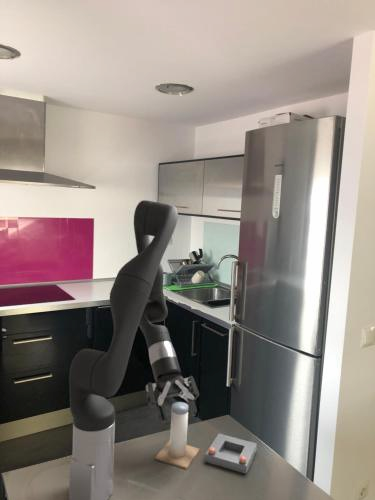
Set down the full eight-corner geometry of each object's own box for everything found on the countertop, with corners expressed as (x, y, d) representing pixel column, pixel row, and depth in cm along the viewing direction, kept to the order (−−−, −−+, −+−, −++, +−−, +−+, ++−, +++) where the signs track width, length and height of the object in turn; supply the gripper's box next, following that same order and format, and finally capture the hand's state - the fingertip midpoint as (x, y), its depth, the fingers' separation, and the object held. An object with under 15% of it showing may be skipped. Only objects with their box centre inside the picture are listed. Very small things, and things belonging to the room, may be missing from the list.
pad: (186, 471, 102) (186, 467, 102) (154, 461, 105) (155, 457, 105) (199, 452, 110) (199, 448, 110) (169, 443, 113) (169, 440, 113)
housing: (246, 476, 101) (246, 462, 101) (204, 463, 105) (205, 450, 105) (256, 452, 111) (257, 440, 111) (218, 442, 115) (219, 430, 115)
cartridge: (181, 459, 105) (184, 411, 103) (166, 454, 106) (168, 407, 105) (188, 450, 109) (191, 404, 107) (173, 446, 110) (176, 400, 109)
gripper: (144, 358, 110) (159, 418, 101) (190, 352, 116) (208, 408, 107) (136, 370, 115) (150, 428, 106) (181, 363, 121) (198, 418, 112)
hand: (179, 418), depth 107 cm, fingers open, 8 cm apart
